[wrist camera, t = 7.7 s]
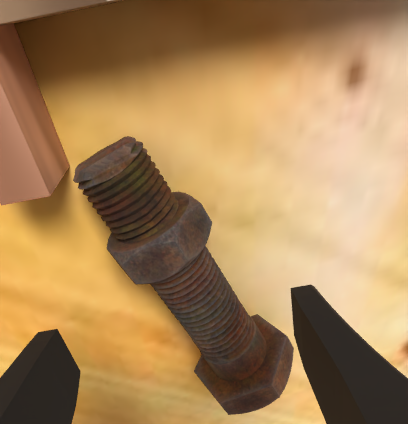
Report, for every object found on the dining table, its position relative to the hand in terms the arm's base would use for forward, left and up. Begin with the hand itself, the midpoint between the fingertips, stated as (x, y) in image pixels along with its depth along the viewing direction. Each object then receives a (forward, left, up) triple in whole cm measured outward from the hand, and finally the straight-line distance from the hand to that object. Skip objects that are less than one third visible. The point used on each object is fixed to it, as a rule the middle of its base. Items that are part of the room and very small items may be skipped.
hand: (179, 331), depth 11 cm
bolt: (0, +3, -9) cm, 9 cm away
